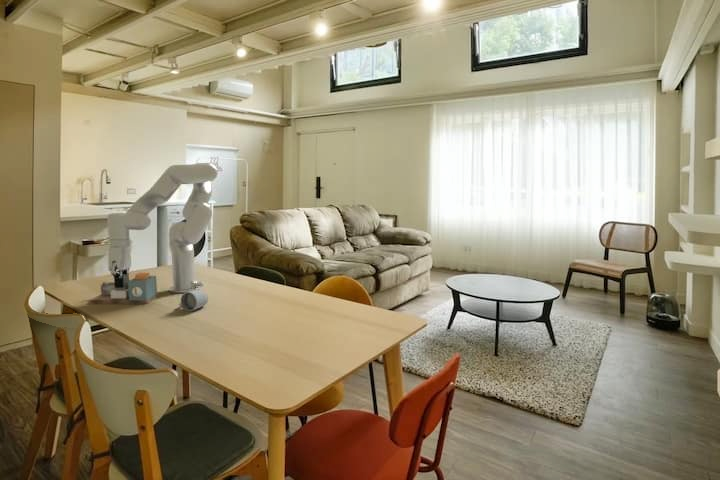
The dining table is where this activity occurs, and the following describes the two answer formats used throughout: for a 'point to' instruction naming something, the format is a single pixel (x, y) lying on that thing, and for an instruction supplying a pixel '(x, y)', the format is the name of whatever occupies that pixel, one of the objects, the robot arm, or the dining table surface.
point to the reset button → (141, 276)
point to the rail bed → (106, 298)
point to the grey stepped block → (121, 289)
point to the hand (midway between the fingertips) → (122, 285)
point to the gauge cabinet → (142, 288)
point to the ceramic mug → (193, 300)
